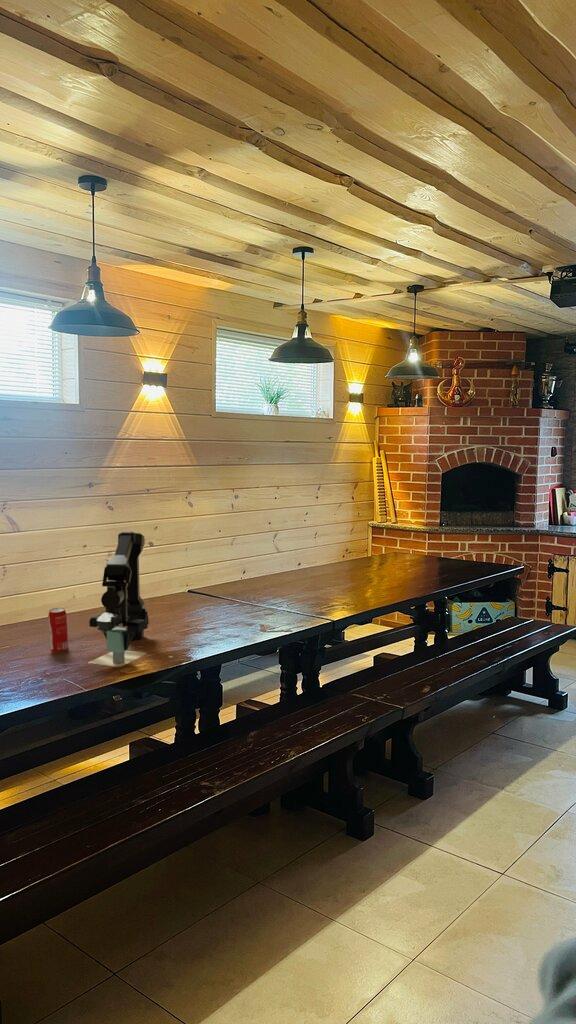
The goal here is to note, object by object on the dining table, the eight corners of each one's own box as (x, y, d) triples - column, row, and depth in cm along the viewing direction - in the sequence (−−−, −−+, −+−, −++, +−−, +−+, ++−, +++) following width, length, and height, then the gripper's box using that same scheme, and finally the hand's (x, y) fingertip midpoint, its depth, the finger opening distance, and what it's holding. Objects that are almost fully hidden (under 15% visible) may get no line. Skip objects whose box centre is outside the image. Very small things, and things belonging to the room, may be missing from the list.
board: (117, 651, 244) (117, 649, 243) (147, 656, 239) (147, 653, 239) (87, 665, 229) (87, 662, 229) (119, 670, 224) (119, 667, 224)
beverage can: (70, 649, 246) (69, 606, 245) (65, 655, 240) (64, 611, 238) (53, 649, 246) (51, 606, 244) (47, 655, 239) (46, 611, 238)
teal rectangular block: (116, 646, 232) (116, 627, 231) (130, 648, 230) (129, 628, 229) (106, 651, 227) (106, 631, 227) (120, 653, 225) (120, 632, 225)
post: (117, 660, 231) (117, 644, 230) (124, 661, 230) (124, 645, 229) (113, 663, 228) (112, 646, 228) (119, 664, 227) (119, 647, 227)
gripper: (77, 604, 223) (78, 652, 225) (128, 610, 216) (128, 660, 218) (99, 597, 233) (100, 643, 235) (148, 602, 227) (148, 650, 228)
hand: (118, 649), depth 229 cm, fingers closed on teal rectangular block, 5 cm apart
